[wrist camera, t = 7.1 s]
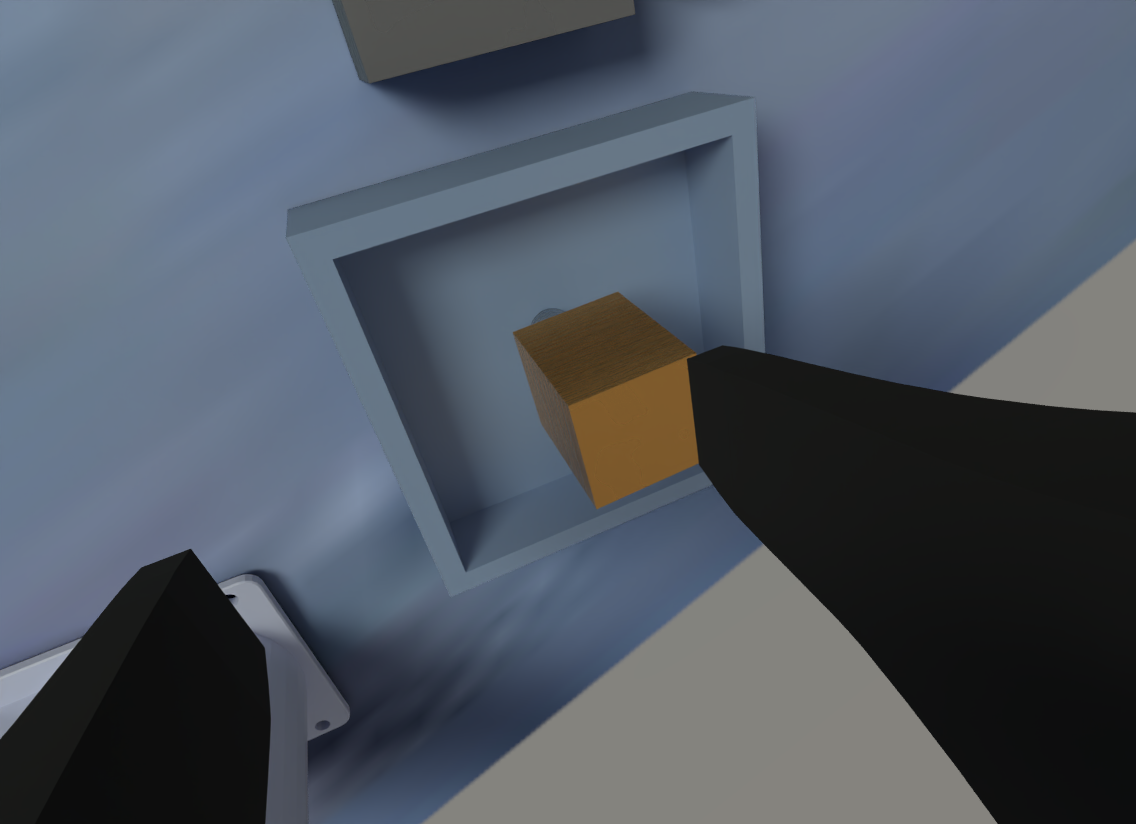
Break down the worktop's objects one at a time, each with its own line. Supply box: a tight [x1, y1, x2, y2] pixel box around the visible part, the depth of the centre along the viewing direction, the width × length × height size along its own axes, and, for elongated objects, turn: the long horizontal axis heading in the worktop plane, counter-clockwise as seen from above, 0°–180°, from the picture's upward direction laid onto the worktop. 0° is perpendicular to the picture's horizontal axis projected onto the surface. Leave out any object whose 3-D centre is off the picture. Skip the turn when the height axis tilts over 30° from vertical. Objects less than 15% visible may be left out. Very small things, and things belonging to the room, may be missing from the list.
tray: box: [286, 92, 765, 597], centre depth 19 cm, size 11×11×3 cm
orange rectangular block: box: [513, 292, 699, 509], centre depth 17 cm, size 3×3×6 cm
